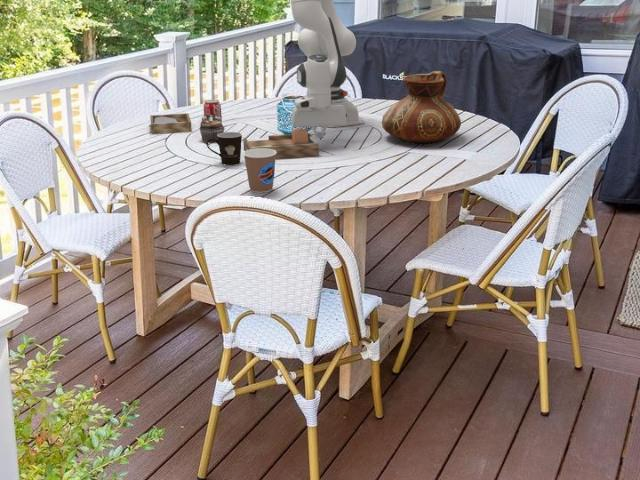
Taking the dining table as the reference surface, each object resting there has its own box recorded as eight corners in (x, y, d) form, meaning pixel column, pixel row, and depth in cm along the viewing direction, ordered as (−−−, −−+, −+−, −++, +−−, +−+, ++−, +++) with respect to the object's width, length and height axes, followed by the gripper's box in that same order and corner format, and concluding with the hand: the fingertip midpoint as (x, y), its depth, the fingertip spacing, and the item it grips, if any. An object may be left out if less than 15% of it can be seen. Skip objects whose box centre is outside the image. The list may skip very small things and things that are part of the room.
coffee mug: (247, 160, 281) (245, 132, 278) (237, 166, 274) (235, 138, 270) (217, 158, 285) (215, 130, 281) (206, 164, 277) (204, 136, 274)
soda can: (223, 128, 330) (222, 99, 326) (220, 132, 323) (218, 102, 319) (207, 127, 331) (205, 99, 326) (203, 131, 324) (201, 102, 320)
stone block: (177, 129, 338) (153, 125, 336) (179, 118, 336) (155, 114, 334) (176, 136, 327) (152, 133, 325) (178, 125, 325) (153, 121, 323)
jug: (450, 151, 289) (453, 82, 280) (371, 145, 299) (372, 78, 290) (466, 133, 315) (469, 69, 306) (392, 128, 325) (393, 66, 316)
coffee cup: (261, 196, 242) (259, 158, 238) (238, 190, 248) (236, 153, 244) (284, 189, 249) (283, 151, 245) (261, 182, 256) (260, 146, 251)
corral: (189, 122, 341) (188, 113, 339) (191, 131, 324) (191, 122, 323) (151, 124, 338) (150, 115, 336) (151, 134, 321) (150, 124, 320)
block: (305, 138, 298) (305, 128, 296) (308, 142, 293) (307, 131, 292) (292, 139, 297) (291, 129, 295) (294, 142, 292) (294, 132, 291)
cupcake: (195, 142, 308) (193, 116, 305) (209, 136, 316) (208, 111, 313) (215, 144, 304) (214, 118, 300) (229, 139, 312) (228, 113, 308)
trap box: (309, 144, 301) (309, 133, 300) (318, 155, 286) (318, 143, 284) (243, 149, 296) (243, 137, 295) (249, 160, 281) (249, 148, 279)
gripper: (344, 97, 296) (344, 134, 301) (290, 100, 292) (291, 137, 297) (348, 100, 290) (348, 137, 295) (293, 103, 286) (294, 141, 291)
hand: (319, 137), depth 296 cm, fingers closed
